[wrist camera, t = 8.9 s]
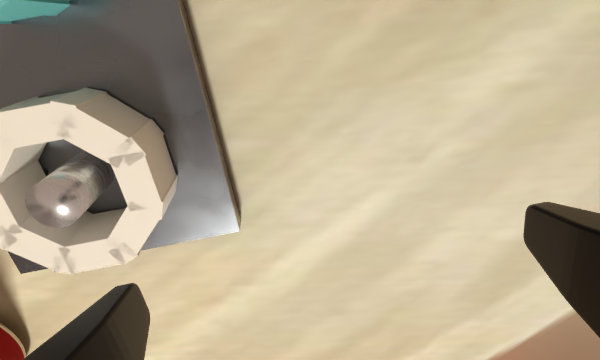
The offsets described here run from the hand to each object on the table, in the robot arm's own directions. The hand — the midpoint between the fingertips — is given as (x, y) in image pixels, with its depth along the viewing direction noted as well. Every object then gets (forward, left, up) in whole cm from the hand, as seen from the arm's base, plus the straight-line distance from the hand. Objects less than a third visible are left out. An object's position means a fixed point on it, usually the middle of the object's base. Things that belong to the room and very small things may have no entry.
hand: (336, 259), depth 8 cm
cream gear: (+10, 0, -11) cm, 15 cm away
